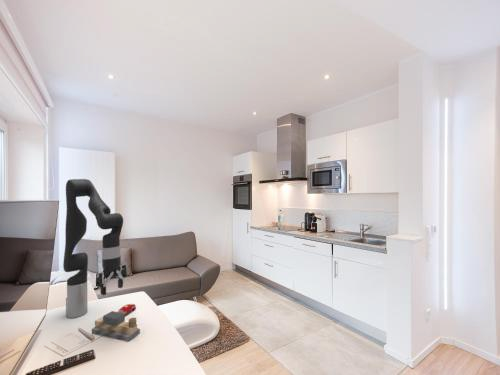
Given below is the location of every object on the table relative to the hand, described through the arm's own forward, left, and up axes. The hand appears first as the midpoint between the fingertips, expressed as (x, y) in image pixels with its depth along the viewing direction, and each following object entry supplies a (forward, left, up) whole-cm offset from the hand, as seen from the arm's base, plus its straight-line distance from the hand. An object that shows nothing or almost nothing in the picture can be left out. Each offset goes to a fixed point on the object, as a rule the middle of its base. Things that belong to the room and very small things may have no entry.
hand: (112, 291), depth 114 cm
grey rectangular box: (-1, +2, -16) cm, 16 cm away
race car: (-11, +18, -21) cm, 30 cm away
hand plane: (0, +2, -21) cm, 21 cm away
